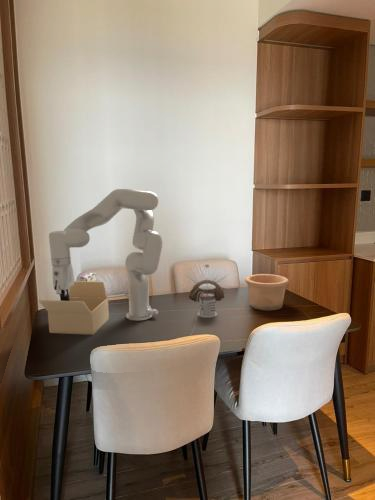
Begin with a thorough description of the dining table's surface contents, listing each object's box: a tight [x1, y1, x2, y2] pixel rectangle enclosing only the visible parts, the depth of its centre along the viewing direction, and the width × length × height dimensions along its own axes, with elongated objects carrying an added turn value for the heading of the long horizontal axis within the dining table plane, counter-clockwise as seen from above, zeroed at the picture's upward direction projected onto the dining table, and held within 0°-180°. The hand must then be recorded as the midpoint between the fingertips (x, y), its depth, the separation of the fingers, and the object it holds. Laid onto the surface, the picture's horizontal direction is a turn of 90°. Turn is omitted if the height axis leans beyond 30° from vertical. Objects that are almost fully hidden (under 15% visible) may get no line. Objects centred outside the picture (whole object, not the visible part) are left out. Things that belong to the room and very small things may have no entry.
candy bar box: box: [78, 272, 97, 282], centre depth 203 cm, size 11×5×16 cm, turn 168°
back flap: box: [68, 280, 108, 298], centre depth 180 cm, size 19×10×1 cm
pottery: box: [244, 273, 290, 311], centre depth 198 cm, size 22×22×14 cm
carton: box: [47, 297, 110, 335], centre depth 173 cm, size 20×20×10 cm
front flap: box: [38, 299, 91, 313], centre depth 158 cm, size 19×10×1 cm
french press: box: [196, 264, 218, 318], centre depth 184 cm, size 10×12×25 cm
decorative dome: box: [189, 279, 225, 302], centre depth 215 cm, size 19×20×10 cm
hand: (65, 304), depth 158 cm, fingers closed
